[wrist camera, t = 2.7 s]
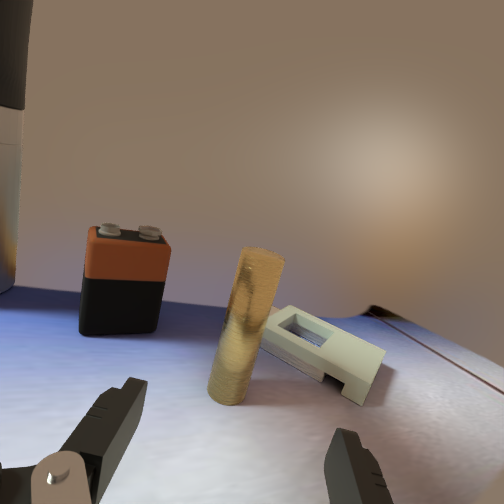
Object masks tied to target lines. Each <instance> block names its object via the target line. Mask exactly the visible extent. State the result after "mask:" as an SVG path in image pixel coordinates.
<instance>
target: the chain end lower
mask: <svg viewBox="0 0 504 504" xmlns="http://www.w3.org/2000/svg"><path fill="white" fill-rule="evenodd" d="M278 311H280V309H278V308H276V307H274V306H272V307H271V310H270V313H269V317H270V316H271V315H273V314H275V313H277V312H278ZM283 329H285V330H287V331H288V332H289V331H292V332H294V333H296V334H298V335H300V336H302V337H304V338H306V339H308V340H309V341H311V342H313V343H315V344H317V345H319V346H322V345H323V344H324V343H325V342H326V341H327V340H328V339H326V338H324V337H322V336H320V335H318V334H316V333H314V332H312V331H310V330H308V329H306V328H304V327H302V326H300V325H298V324H296V323H294V322H292V323H290V324H289V325H287V326H286V327H285V328H283ZM260 347H261V348H262V349H264V350H266V351H268V352H269V353H271V354H273V355H274V356H276V357H278V358H280V359H281V360H283V361H285V362H286V363H288V364H290V365H292V366H293V367H295V368H297V369H298V370H300V371H302V372H304V373H305V374H307V375H309V376H310V377H312V378H314V379H316V380H317V381H319V382H322V381H323V379H324V378H325V377H326V375H327V373H325V372H324V371H322V370H320V369H318V368H316V367H315V366H313V365H311V364H309V363H308V362H306V361H304V360H302V359H301V358H299V357H297V356H295V355H293V354H292V353H290V352H288V351H286V350H285V349H283V348H281V347H279V346H277V345H276V344H274V343H272V342H270V341H269V340H267V339H265V338H263V337H262V341H261V344H260Z"/></svg>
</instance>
